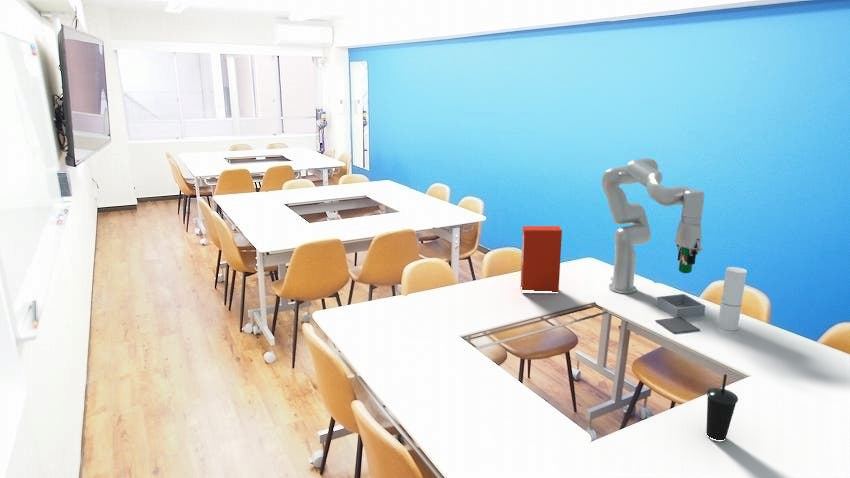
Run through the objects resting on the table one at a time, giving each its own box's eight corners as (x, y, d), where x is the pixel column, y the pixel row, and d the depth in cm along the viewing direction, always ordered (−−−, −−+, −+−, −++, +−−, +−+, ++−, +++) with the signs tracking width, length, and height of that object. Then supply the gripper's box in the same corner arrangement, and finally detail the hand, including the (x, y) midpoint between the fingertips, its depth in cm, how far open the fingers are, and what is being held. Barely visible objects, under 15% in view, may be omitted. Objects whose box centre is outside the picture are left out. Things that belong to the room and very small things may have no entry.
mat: (655, 321, 224) (655, 320, 224) (680, 318, 226) (680, 317, 226) (673, 333, 213) (673, 332, 212) (699, 330, 215) (700, 329, 215)
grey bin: (656, 306, 239) (657, 296, 238) (682, 303, 241) (684, 293, 240) (676, 318, 226) (677, 308, 225) (703, 315, 229) (705, 305, 227)
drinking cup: (695, 429, 155) (704, 368, 149) (720, 427, 155) (729, 367, 150) (710, 446, 147) (720, 383, 142) (737, 444, 148) (747, 381, 142)
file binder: (558, 294, 254) (562, 230, 245) (522, 294, 256) (524, 230, 246) (555, 288, 262) (559, 225, 253) (520, 287, 263) (522, 225, 254)
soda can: (690, 270, 225) (693, 243, 221) (692, 274, 220) (695, 246, 217) (677, 269, 226) (680, 242, 223) (679, 273, 222) (682, 245, 218)
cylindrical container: (732, 323, 221) (741, 266, 213) (740, 331, 214) (750, 273, 207) (714, 323, 221) (723, 266, 214) (722, 330, 214) (731, 272, 207)
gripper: (669, 216, 224) (664, 257, 229) (698, 225, 208) (692, 269, 213) (684, 214, 226) (679, 255, 231) (714, 224, 210) (708, 267, 215)
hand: (686, 261), depth 222 cm, fingers closed on soda can, 5 cm apart
